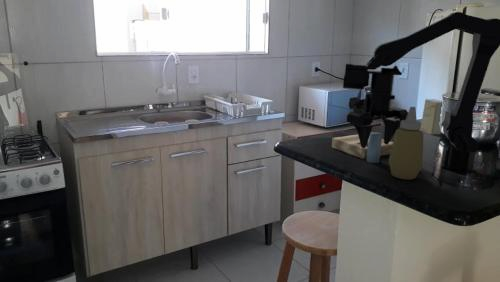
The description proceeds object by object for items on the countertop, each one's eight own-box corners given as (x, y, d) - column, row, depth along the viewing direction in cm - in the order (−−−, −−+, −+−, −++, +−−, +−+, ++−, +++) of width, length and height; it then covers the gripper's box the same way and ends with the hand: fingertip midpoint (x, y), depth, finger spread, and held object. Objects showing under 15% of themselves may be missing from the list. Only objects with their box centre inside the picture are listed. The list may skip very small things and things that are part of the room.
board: (396, 152, 127) (397, 143, 126) (363, 159, 120) (364, 149, 119) (363, 142, 138) (364, 133, 137) (331, 147, 131) (332, 138, 130)
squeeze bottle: (381, 175, 106) (389, 106, 102) (396, 169, 112) (404, 103, 107) (411, 184, 101) (422, 111, 96) (425, 177, 106) (436, 107, 102)
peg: (381, 161, 118) (385, 134, 116) (373, 163, 116) (376, 135, 114) (372, 158, 121) (375, 131, 119) (363, 160, 119) (366, 133, 117)
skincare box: (419, 131, 157) (424, 99, 154) (429, 130, 158) (434, 98, 155) (431, 135, 151) (436, 102, 148) (441, 134, 152) (446, 101, 149)
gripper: (381, 85, 124) (375, 135, 129) (335, 88, 115) (330, 142, 119) (412, 90, 115) (405, 144, 119) (365, 94, 106) (359, 152, 110)
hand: (374, 145), depth 117 cm, fingers open, 9 cm apart
